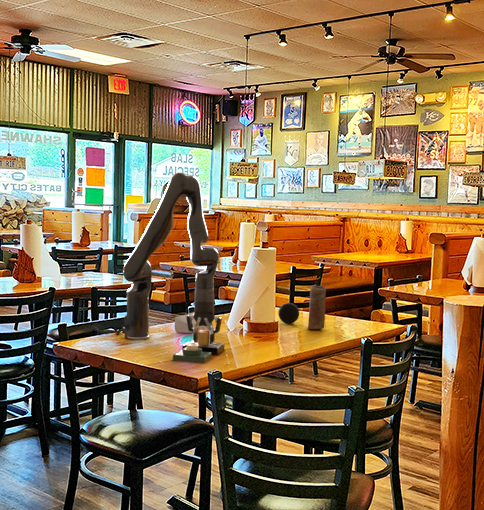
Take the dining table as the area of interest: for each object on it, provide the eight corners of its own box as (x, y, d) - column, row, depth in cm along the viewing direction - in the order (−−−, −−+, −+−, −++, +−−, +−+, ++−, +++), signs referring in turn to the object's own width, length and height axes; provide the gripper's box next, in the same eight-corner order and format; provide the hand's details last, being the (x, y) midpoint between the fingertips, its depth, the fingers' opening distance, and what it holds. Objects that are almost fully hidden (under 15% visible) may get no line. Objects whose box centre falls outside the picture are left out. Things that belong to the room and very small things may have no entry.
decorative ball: (303, 323, 335) (303, 303, 335) (289, 326, 329) (289, 305, 328) (287, 321, 343) (288, 300, 342) (273, 323, 336) (274, 302, 335)
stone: (212, 330, 317) (212, 312, 313) (185, 346, 306) (185, 327, 301) (195, 321, 324) (195, 303, 319) (168, 337, 312) (168, 318, 307)
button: (185, 350, 254) (185, 345, 254) (189, 348, 258) (189, 343, 258) (196, 351, 253) (196, 346, 253) (199, 349, 257) (199, 344, 257)
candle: (323, 328, 325) (325, 285, 323) (325, 331, 317) (327, 287, 316) (307, 327, 325) (308, 285, 323) (308, 330, 318) (310, 287, 316)
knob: (196, 344, 268) (196, 331, 267) (199, 342, 272) (200, 329, 272) (207, 345, 267) (207, 331, 266) (210, 343, 271) (211, 329, 270)
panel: (182, 353, 267) (182, 344, 266) (190, 347, 276) (190, 340, 276) (217, 355, 263) (217, 347, 263) (224, 350, 273) (224, 342, 272)
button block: (172, 360, 253) (172, 350, 253) (180, 355, 262) (180, 345, 262) (204, 363, 250) (204, 352, 250) (211, 358, 259) (211, 347, 259)
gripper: (225, 299, 270) (224, 342, 271) (189, 297, 273) (189, 339, 275) (219, 301, 263) (219, 346, 264) (183, 299, 266) (182, 343, 268)
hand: (203, 342), depth 269 cm, fingers open, 5 cm apart
